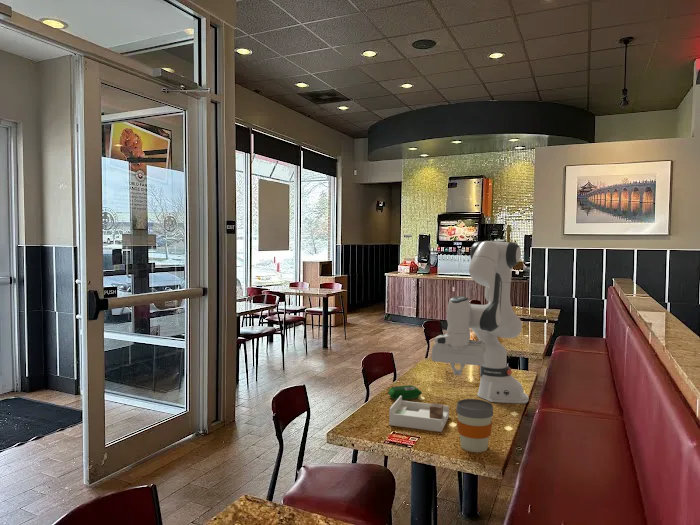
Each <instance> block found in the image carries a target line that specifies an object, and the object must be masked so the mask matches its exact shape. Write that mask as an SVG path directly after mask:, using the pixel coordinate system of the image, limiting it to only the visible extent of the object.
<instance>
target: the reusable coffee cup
mask: <svg viewBox="0 0 700 525" xmlns="http://www.w3.org/2000/svg"><path fill="white" fill-rule="evenodd" d="M455 410H456V413H457V418H456V424H457V432H458V434H459V439H460V440H459V442H460V447H461V448H462V449H463V450H465V451H467V452H470V453H483V452H486V451H487V450H488V446H489V440H490V436H491V434H492V429H493V428H492V427H493V420H492V419H493V416H494V406H493V404H492V403H491V402H490V401H488V400H483V399H477V398H463V399H460V400H458V401H457V402H456V409H455Z"/></svg>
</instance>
